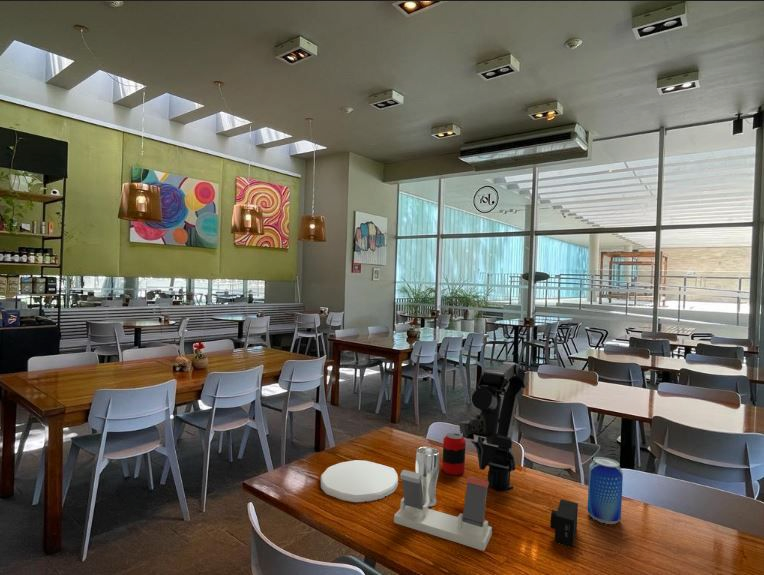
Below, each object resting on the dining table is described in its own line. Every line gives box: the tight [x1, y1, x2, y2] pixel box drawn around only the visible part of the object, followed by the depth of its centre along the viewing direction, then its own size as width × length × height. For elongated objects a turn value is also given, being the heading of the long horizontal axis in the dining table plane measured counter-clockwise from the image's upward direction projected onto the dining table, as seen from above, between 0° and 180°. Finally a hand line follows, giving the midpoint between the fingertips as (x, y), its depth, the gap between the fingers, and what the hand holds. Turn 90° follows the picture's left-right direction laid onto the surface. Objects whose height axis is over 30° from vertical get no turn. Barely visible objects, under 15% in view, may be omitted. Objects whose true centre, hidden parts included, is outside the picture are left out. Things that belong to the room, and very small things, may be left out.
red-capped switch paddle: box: [462, 476, 489, 527], centre depth 110 cm, size 2×5×11 cm, turn 63°
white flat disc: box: [320, 459, 399, 503], centre depth 137 cm, size 25×4×25 cm
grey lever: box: [400, 469, 424, 510], centre depth 115 cm, size 2×5×11 cm, turn 63°
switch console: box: [393, 496, 493, 552], centre depth 113 cm, size 8×24×5 cm, turn 63°
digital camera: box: [549, 498, 579, 548], centre depth 112 cm, size 10×5×7 cm, turn 151°
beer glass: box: [414, 446, 440, 508], centre depth 126 cm, size 7×7×15 cm
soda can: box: [441, 432, 467, 476], centre depth 149 cm, size 8×8×12 cm
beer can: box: [587, 456, 624, 525], centre depth 121 cm, size 8×8×16 cm
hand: (481, 469), depth 123 cm, fingers closed
